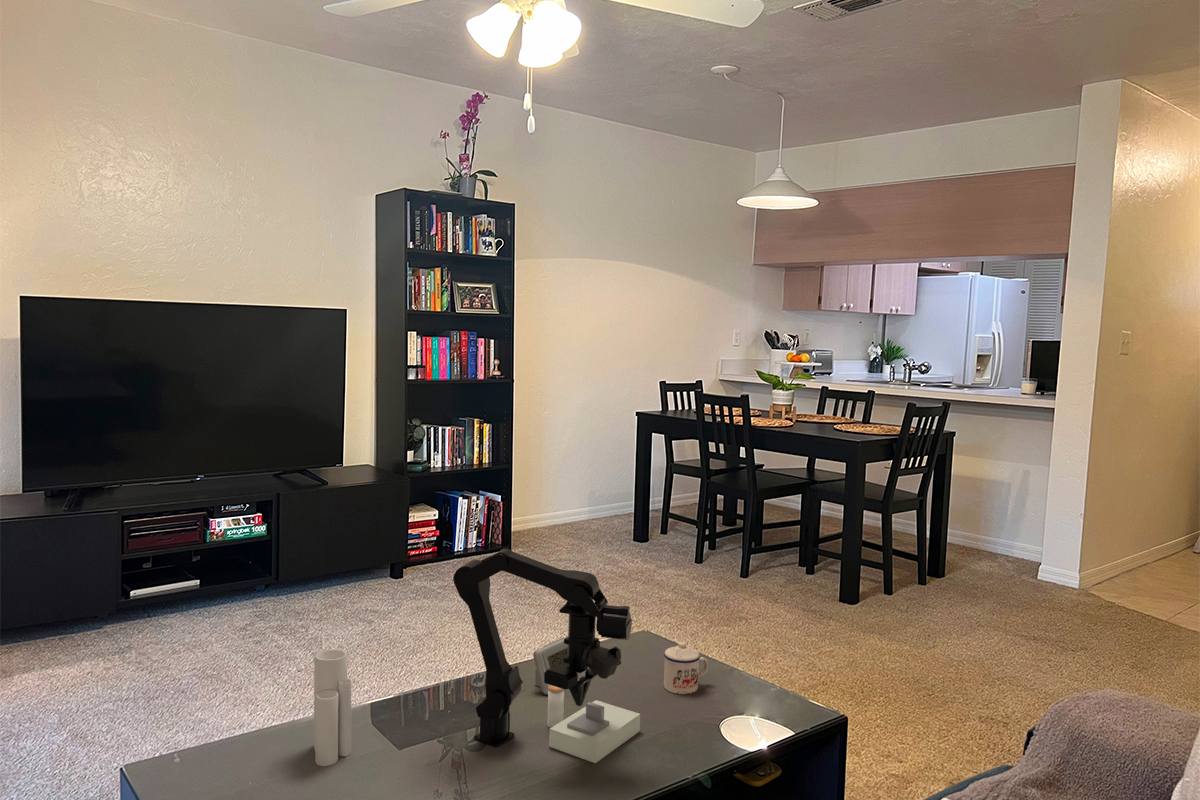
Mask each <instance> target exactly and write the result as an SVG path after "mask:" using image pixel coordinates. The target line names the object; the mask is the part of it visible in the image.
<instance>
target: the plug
mask: <svg viewBox="0 0 1200 800" xmlns="http://www.w3.org/2000/svg"><path fill="white" fill-rule="evenodd" d="M564 705H565V689H562V688H559V687H555V686H552V685H549V686H548V694H547V722H546V723H547V724H546V725H547V727H548V728H549V729H550V728H552V727H553V726H555V725H556V724H558V723H560V722H561V721H563V720H564V713H565V712H564V711H565V710H564V707H565V706H564Z"/></svg>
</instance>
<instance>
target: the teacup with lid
mask: <svg viewBox="0 0 1200 800" xmlns="http://www.w3.org/2000/svg"><path fill="white" fill-rule="evenodd" d="M663 656H664V668H663V669H664V671H663V672H664V673H663V687H664V689H665V690H666V691H668V692H669V693H672V694H677V693H678V694H677V695H688V694H687V693H690V694H693V693H696V691H697V690H698V689H699V678H701V677H703V676H704V675H705V674H706V673H707V671H708V669H709V661H708V660H707V659H706V658H705V657H702V656H701V655H700V653H699V651H698V650H696V649H694V648H693V647H689V646H687V642H684V641H680V642H678V644H677V645H675V646H671V647H668V648H667V649H665V651H664V653H663ZM701 661H702V662H703V663H704V665H703V668H702V670H701V671H700V672H699V669H700V668H699V665H700V662H701ZM692 692H693V693H692Z"/></svg>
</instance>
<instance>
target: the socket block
mask: <svg viewBox="0 0 1200 800" xmlns="http://www.w3.org/2000/svg"><path fill="white" fill-rule="evenodd" d="M591 703H594V704H597V705H601V706H604V720H607V721H609V725H608V726H607V727H605V728H604V729H602V730H601V731H599V732H598V733H596V734H595V735H593V736H590V735H587V734H585V733H582V732H579V731H576V730H573V729H570V728H567V724H568V723H570V722H571V721H573V720H574V719H576V718H578V717H579V716H581V715H582V714H584V713H586V706H584V707H582V708H581V709H579V710H578V711H576V712H575V713H573V714H571V715H569V716H568V717H566V718H564V719H563V721H561V722H560V723H558V724H556V725H555V726H553V727H552V728H549V731H548V732H549V739H548V740H549V741H548V745H549V746H548V747H549V748H552V749H555V750H557V751H560V752H563V753H565V754H567V755H568V754H569V755H572V756H575V757H577V758H579V759H582V760H585V761H587V762H591V763H594V764H597V762H599V761H601V760H602V759H603V758H605V757H607V756H608V755H609V754H610V753H611V752H613V751H615V750H616V749H617V748H619V747H620V746H621V745H623V744H624V743H625V742H627V741H628V740H630V739H631V738H632V737H634V736H635V735H636V734H638V733H639V732H640V731H641V713H638V712H635V711H632V710H629V709H626V708H623V707H619V706H616V705H612V704H610V703H606V702H604V701H600V700H598V699H595V700H594V701H592V702H591Z"/></svg>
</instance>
